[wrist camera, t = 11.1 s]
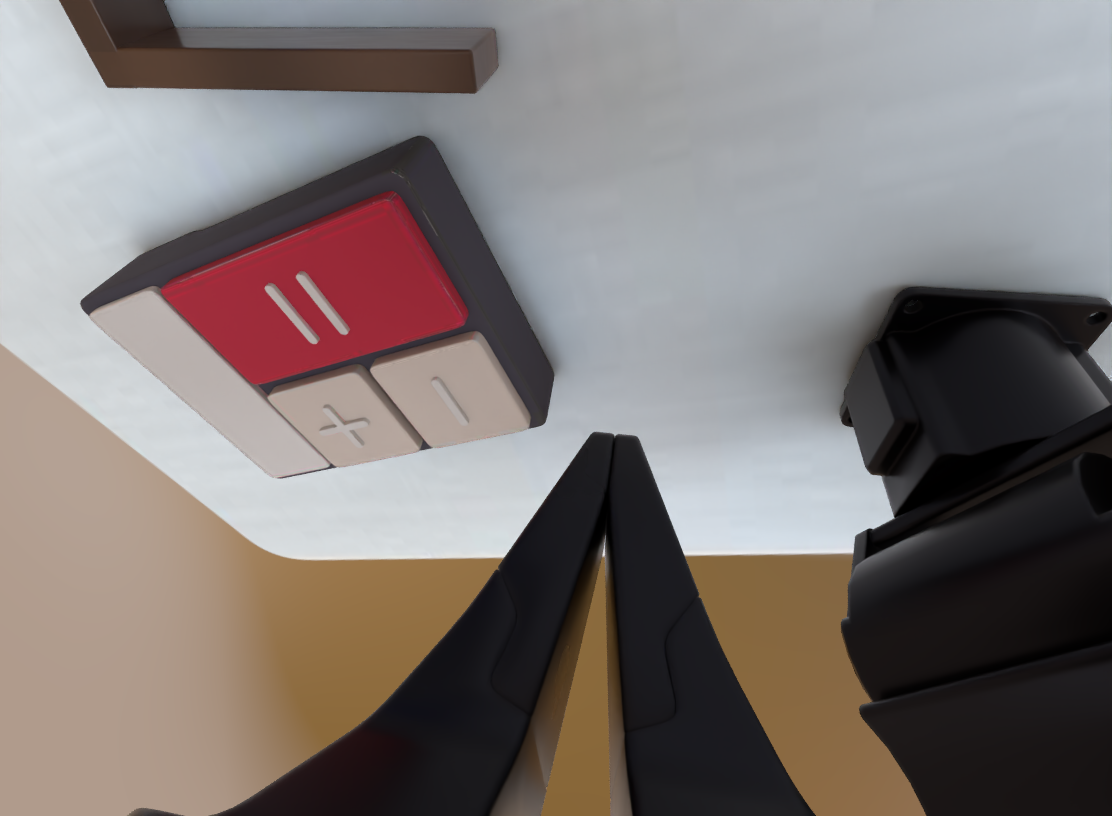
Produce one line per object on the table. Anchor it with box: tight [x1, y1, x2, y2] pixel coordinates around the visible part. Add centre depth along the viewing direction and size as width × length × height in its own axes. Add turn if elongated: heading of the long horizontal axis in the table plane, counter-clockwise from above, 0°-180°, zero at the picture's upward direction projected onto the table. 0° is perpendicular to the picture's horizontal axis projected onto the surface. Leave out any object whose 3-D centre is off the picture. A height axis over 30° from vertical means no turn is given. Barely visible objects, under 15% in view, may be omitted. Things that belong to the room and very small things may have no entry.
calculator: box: [80, 136, 554, 478], centre depth 22 cm, size 11×4×15 cm
